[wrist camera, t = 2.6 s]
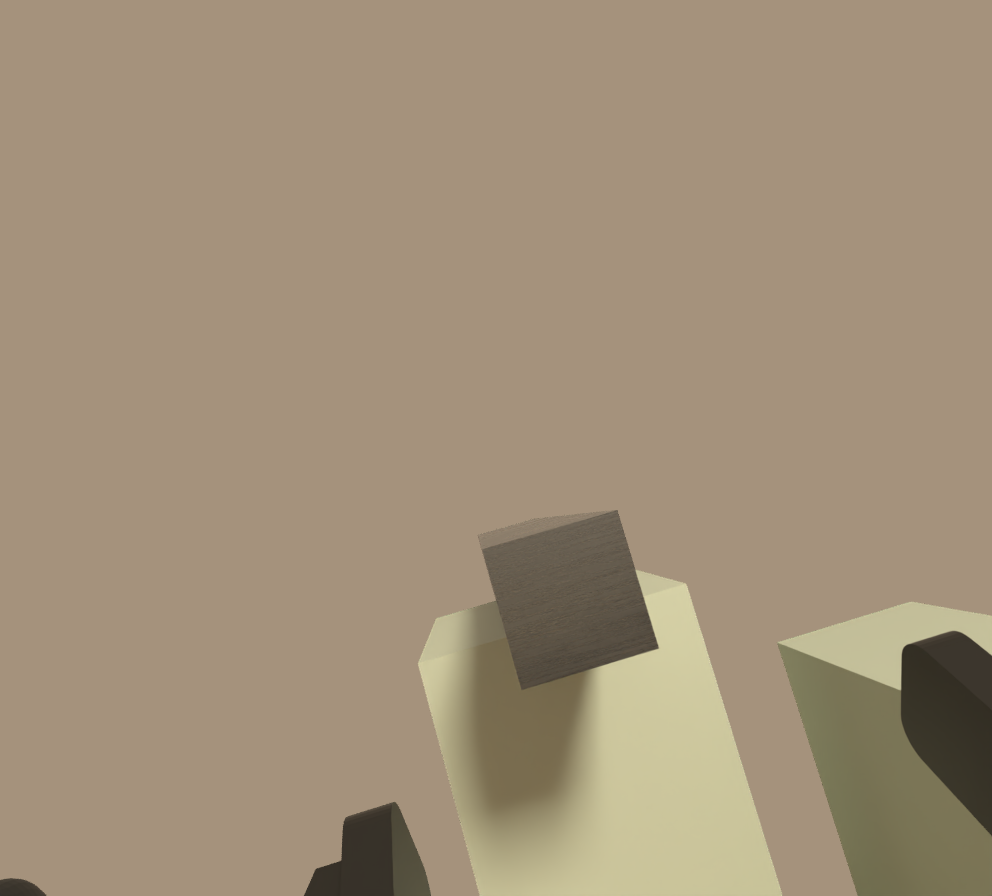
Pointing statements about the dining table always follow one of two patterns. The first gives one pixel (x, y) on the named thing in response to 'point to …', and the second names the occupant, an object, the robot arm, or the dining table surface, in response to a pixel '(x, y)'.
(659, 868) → the stand
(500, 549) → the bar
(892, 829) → the block
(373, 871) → the robot arm
